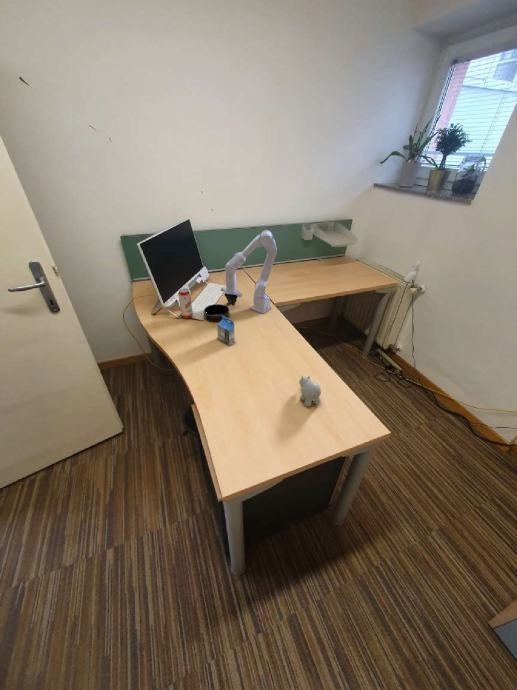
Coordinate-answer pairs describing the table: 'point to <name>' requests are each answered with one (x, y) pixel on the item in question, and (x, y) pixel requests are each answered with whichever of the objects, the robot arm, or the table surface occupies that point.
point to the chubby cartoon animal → (309, 391)
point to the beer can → (185, 303)
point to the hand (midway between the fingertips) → (231, 304)
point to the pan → (217, 312)
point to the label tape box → (226, 330)
